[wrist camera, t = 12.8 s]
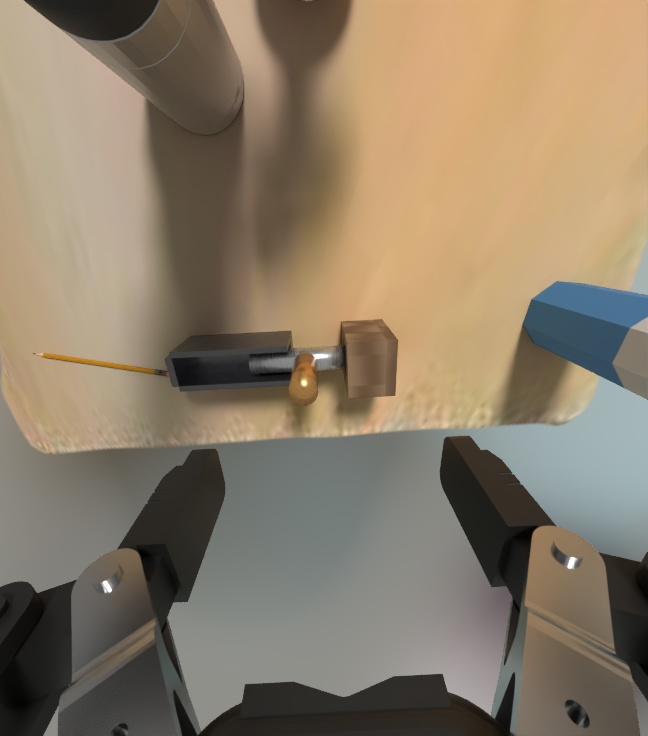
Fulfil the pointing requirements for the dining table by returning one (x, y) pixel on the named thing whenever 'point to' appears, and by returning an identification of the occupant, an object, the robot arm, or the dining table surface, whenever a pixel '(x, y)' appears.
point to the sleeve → (226, 361)
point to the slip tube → (300, 368)
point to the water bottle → (594, 330)
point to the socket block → (369, 358)
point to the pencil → (104, 364)
